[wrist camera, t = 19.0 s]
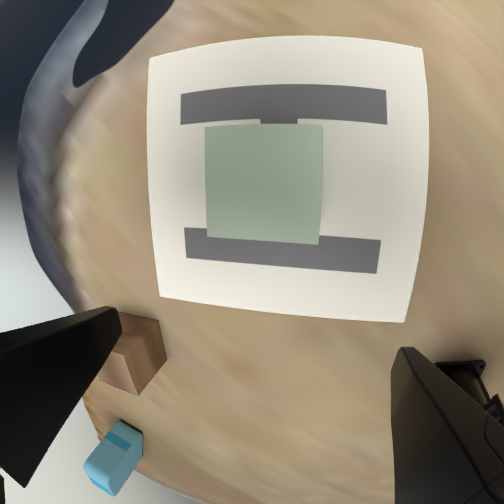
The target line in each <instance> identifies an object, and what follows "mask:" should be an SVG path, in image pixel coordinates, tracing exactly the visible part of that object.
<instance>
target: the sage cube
mask: <svg viewBox="0 0 504 504" xmlns="http://www.w3.org/2000/svg"><path fill="white" fill-rule="evenodd" d="M322 169H323V128H322V125H317V124H243V125H224V126H210V127H205V193H206V222H207V237H216V238H231V239H245V240H259V241H273V242H287V243H300V244H313V245H318V242H319V231H320V219H321V199H322Z"/></svg>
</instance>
